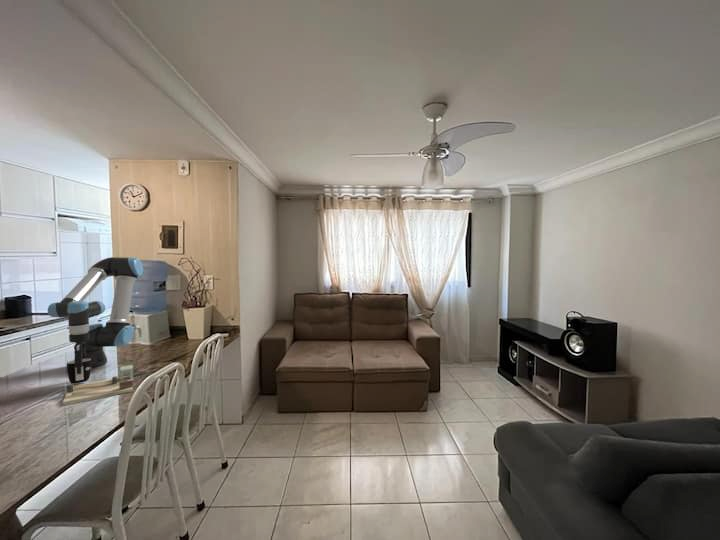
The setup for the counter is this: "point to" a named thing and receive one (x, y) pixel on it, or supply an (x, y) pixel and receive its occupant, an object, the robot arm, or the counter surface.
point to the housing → (126, 369)
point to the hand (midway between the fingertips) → (81, 375)
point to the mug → (86, 371)
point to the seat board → (97, 390)
